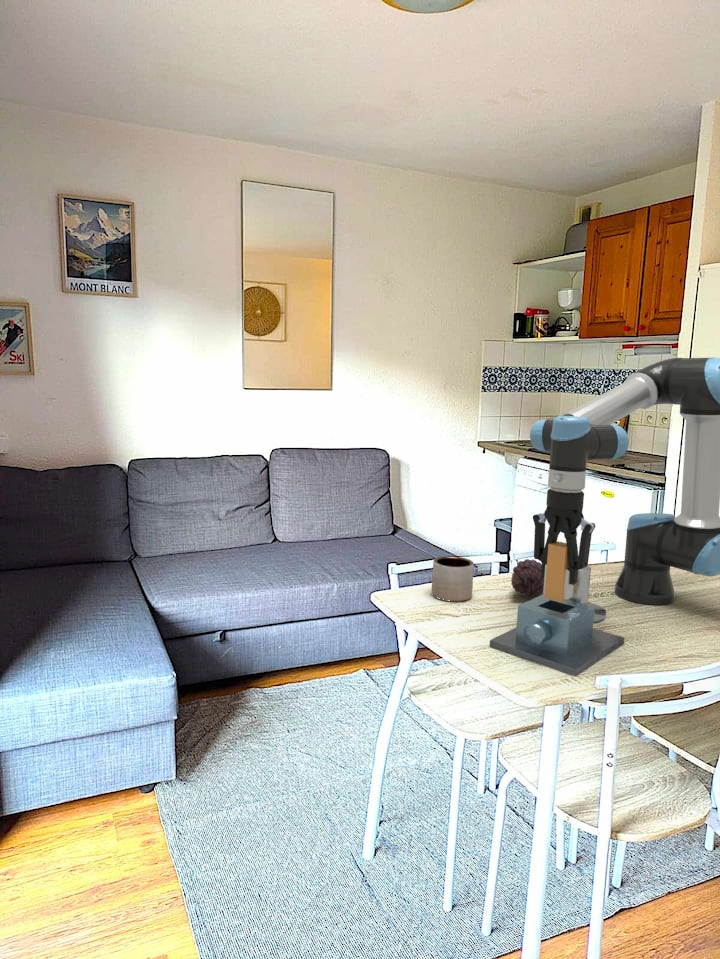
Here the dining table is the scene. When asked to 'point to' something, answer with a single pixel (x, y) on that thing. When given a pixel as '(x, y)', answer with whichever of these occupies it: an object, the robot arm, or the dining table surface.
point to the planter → (452, 578)
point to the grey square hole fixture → (560, 631)
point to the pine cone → (528, 577)
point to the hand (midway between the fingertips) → (557, 595)
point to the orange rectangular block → (556, 571)
